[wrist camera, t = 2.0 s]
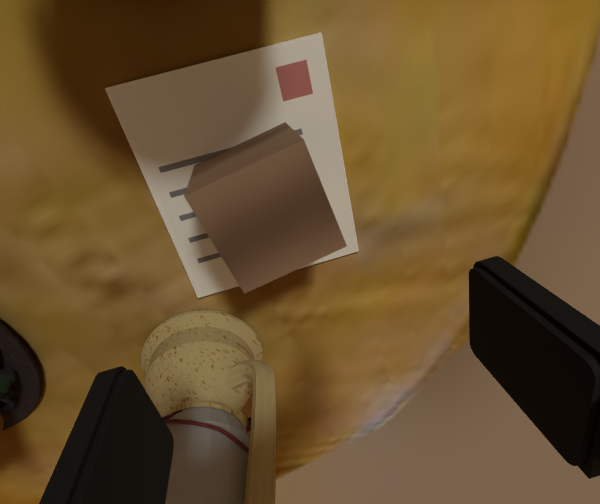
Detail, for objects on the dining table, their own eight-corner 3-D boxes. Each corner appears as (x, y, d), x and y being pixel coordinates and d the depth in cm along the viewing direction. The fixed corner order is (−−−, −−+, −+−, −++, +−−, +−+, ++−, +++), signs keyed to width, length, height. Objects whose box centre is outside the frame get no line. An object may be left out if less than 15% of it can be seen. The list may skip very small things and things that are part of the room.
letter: (106, 87, 20) (104, 88, 19) (320, 32, 20) (321, 32, 20) (198, 295, 26) (197, 298, 26) (357, 249, 27) (358, 251, 27)
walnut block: (194, 165, 22) (183, 196, 17) (285, 122, 22) (303, 139, 16) (240, 245, 25) (244, 293, 19) (321, 207, 25) (347, 246, 19)
